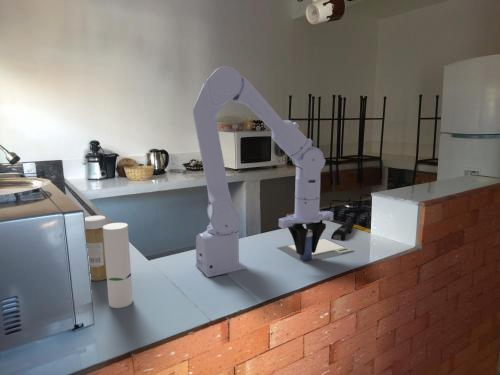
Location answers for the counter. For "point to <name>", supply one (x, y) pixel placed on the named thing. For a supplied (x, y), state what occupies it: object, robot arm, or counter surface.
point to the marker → (307, 247)
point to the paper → (322, 247)
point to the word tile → (343, 250)
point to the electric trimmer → (343, 231)
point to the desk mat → (314, 257)
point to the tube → (118, 264)
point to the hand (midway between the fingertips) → (305, 252)
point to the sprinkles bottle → (96, 246)
